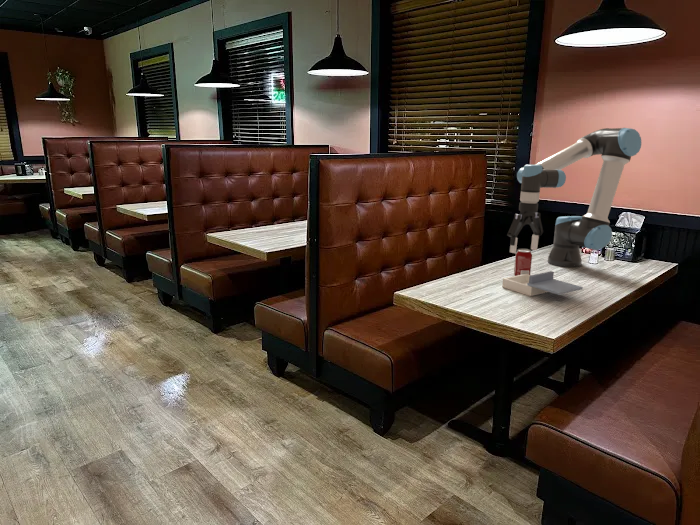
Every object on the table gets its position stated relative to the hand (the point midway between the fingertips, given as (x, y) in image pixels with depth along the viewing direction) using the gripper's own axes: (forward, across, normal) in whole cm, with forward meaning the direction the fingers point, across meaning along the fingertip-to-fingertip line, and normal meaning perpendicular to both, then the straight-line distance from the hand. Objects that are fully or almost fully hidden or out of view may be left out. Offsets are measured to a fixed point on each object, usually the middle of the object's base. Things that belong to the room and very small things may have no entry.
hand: (523, 251), depth 215 cm
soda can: (+12, -1, 0) cm, 12 cm away
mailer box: (+12, +11, +13) cm, 21 cm away
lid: (+8, +11, +25) cm, 29 cm away
